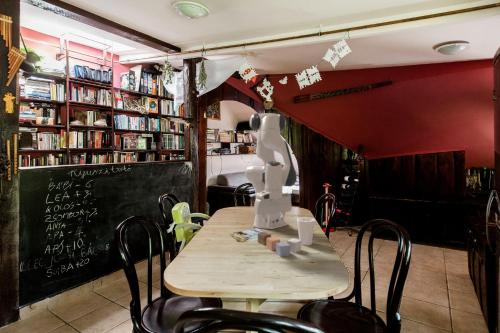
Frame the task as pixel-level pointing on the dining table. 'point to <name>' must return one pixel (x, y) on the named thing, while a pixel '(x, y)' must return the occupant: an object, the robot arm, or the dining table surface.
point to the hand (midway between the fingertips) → (273, 221)
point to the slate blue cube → (283, 249)
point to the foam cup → (305, 229)
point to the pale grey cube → (294, 245)
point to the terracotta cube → (272, 243)
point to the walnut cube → (263, 237)
